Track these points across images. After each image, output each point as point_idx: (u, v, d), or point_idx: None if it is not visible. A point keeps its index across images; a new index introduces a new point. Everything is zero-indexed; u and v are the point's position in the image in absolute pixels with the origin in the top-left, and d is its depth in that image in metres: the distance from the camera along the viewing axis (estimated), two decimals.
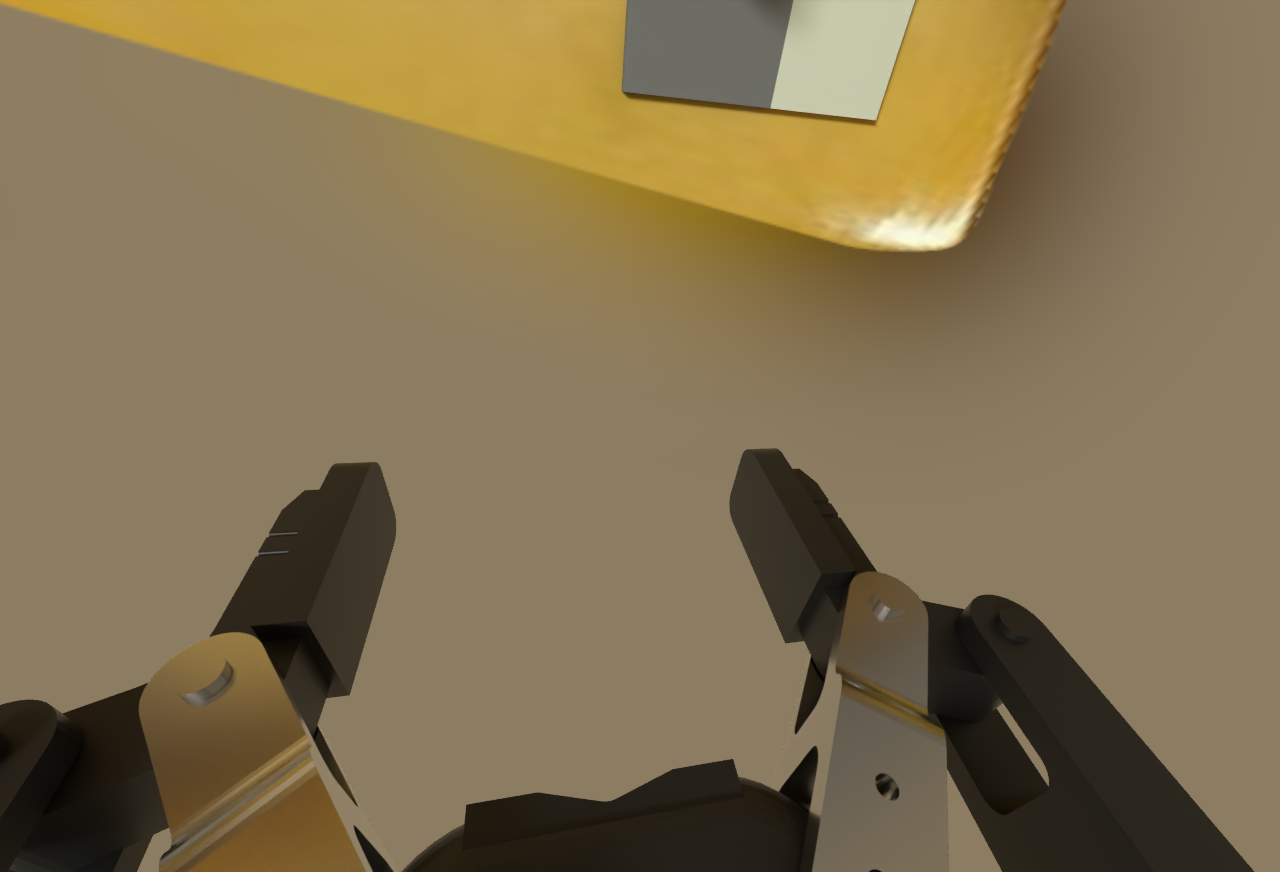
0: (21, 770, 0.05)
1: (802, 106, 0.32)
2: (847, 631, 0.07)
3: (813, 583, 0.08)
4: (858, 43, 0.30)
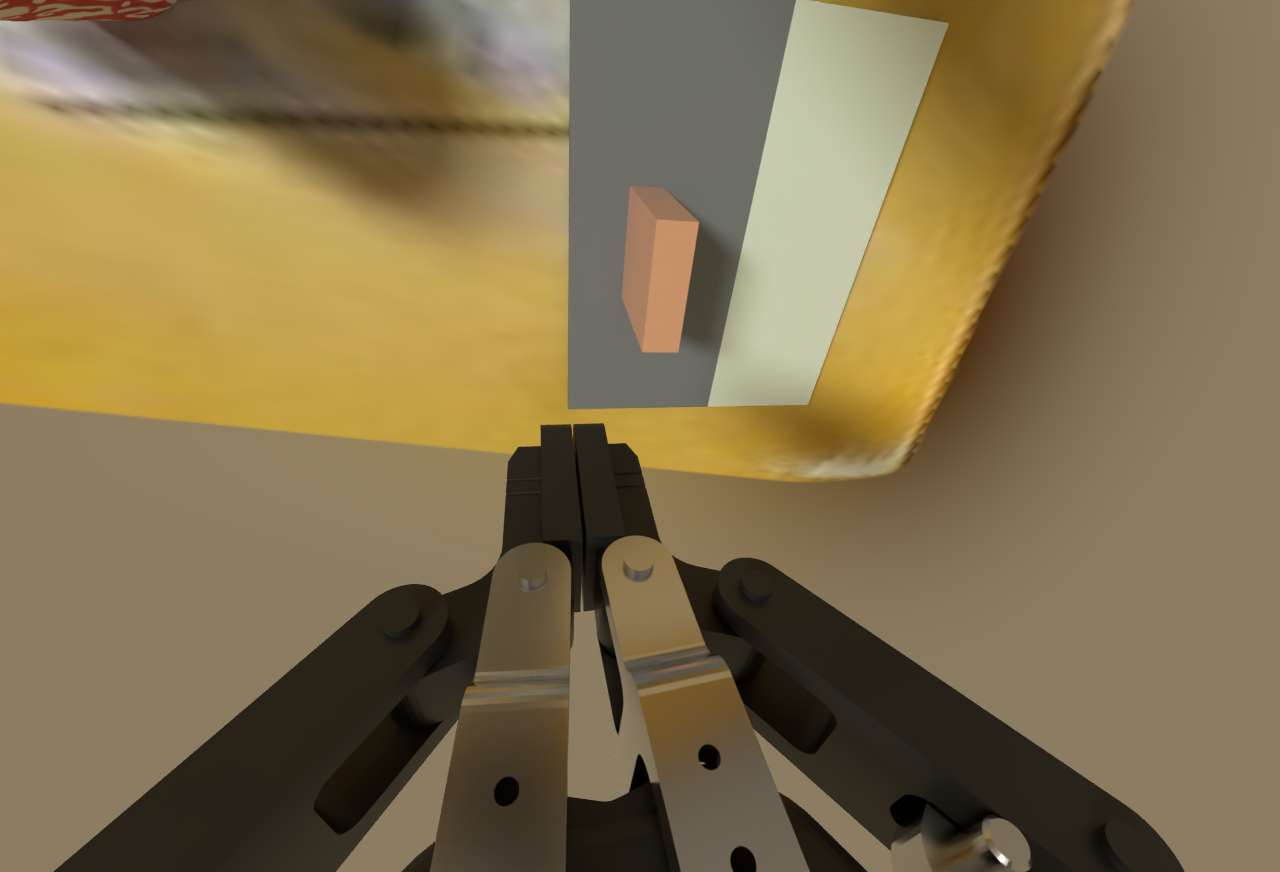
0: (437, 631, 0.07)
1: (737, 402, 0.35)
2: (618, 618, 0.07)
3: (586, 548, 0.08)
4: (786, 358, 0.33)
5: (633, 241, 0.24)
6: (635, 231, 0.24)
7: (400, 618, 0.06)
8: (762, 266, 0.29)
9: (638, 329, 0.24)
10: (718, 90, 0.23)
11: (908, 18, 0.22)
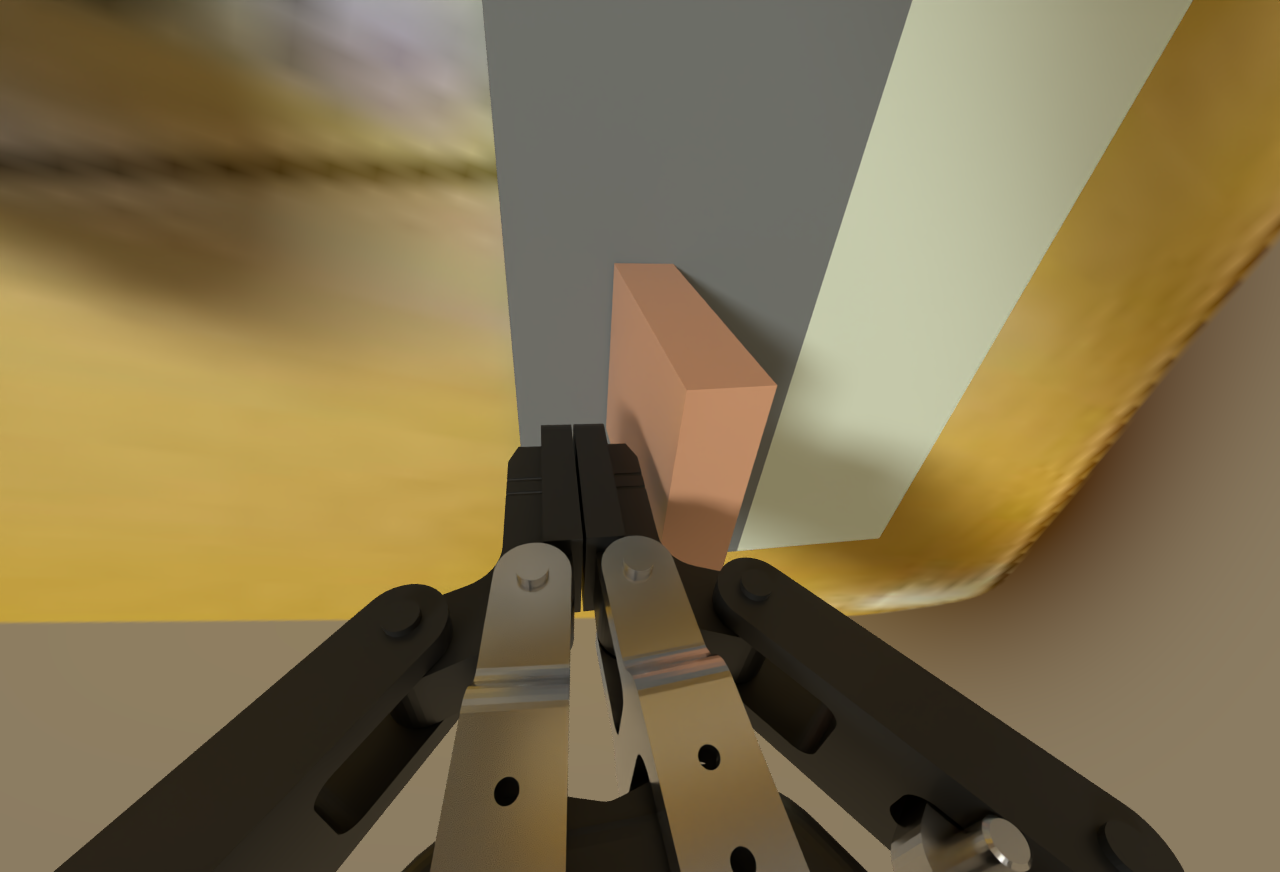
0: (437, 631, 0.07)
1: (780, 543, 0.24)
2: (618, 618, 0.07)
3: (585, 548, 0.08)
4: (855, 488, 0.22)
5: (625, 367, 0.13)
6: (629, 355, 0.13)
7: (401, 618, 0.06)
8: (832, 373, 0.18)
9: None
10: (776, 92, 0.12)
11: None
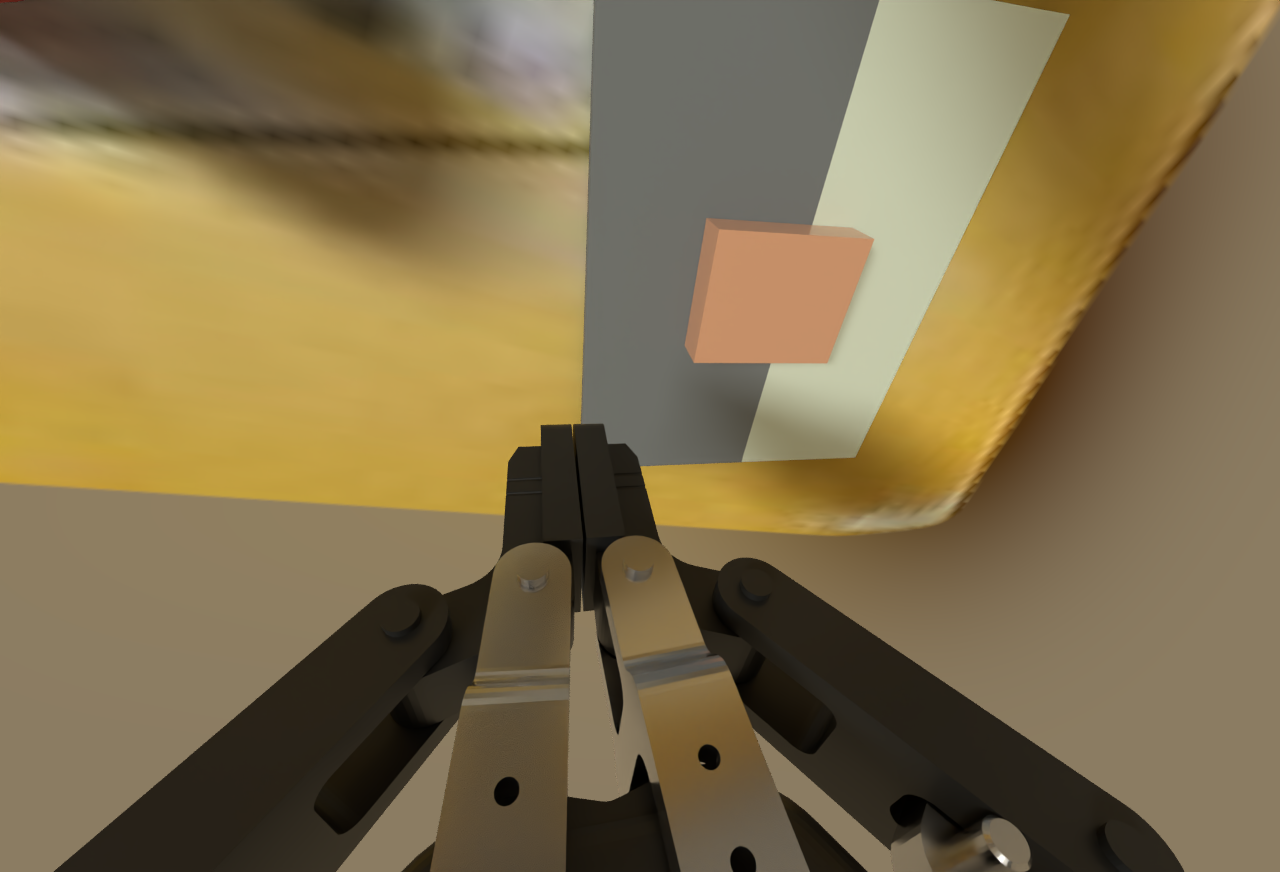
0: (437, 631, 0.07)
1: (775, 457, 0.30)
2: (618, 618, 0.07)
3: (585, 548, 0.08)
4: (835, 409, 0.28)
5: (760, 284, 0.21)
6: (770, 272, 0.20)
7: (400, 619, 0.06)
8: None
9: (806, 353, 0.23)
10: (778, 98, 0.18)
11: (1021, 8, 0.18)
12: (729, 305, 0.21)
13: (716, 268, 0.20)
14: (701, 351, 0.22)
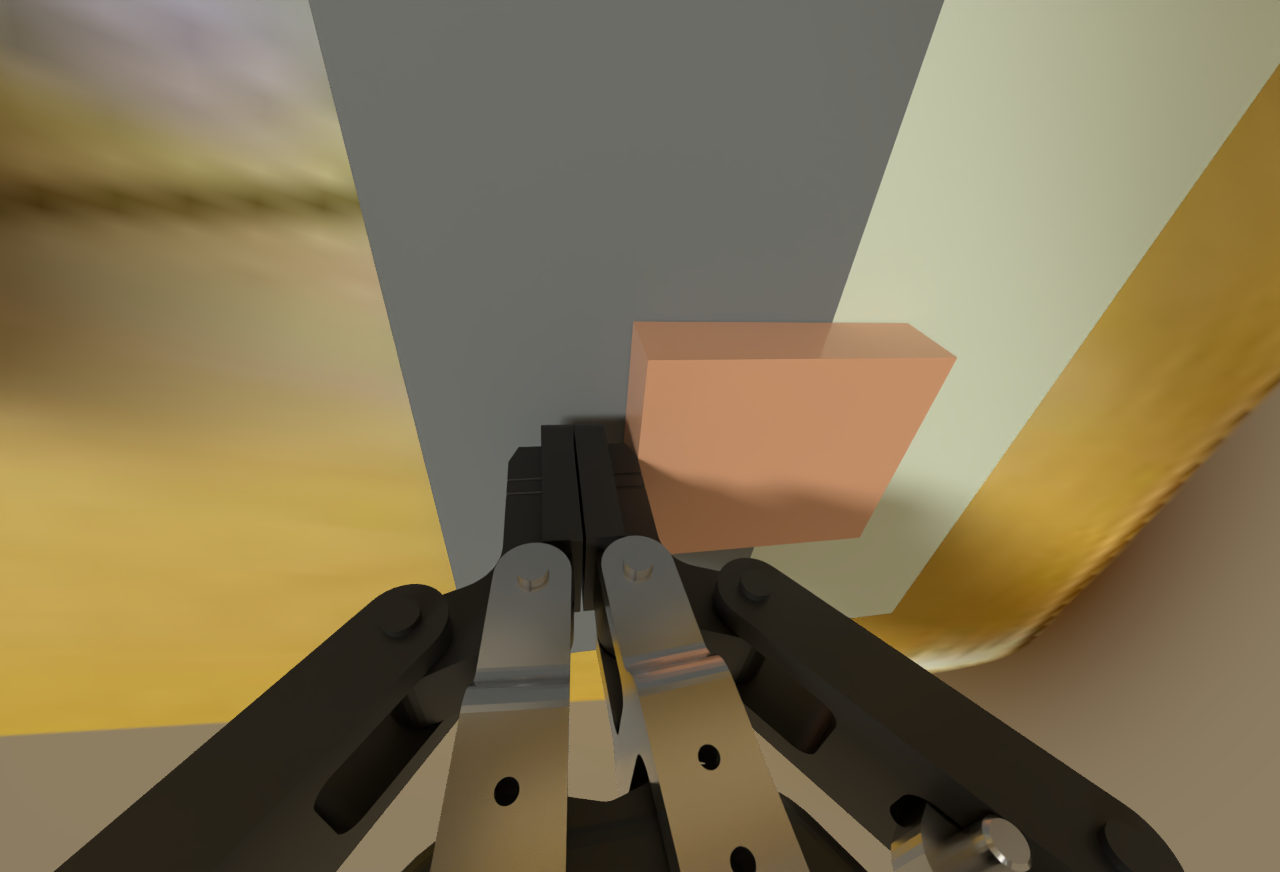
0: (437, 631, 0.07)
1: None
2: (618, 618, 0.07)
3: (585, 548, 0.08)
4: (865, 564, 0.19)
5: (738, 442, 0.11)
6: (757, 422, 0.11)
7: (401, 618, 0.06)
8: None
9: (824, 528, 0.14)
10: (762, 89, 0.08)
11: None
12: (682, 476, 0.11)
13: (650, 424, 0.10)
14: None
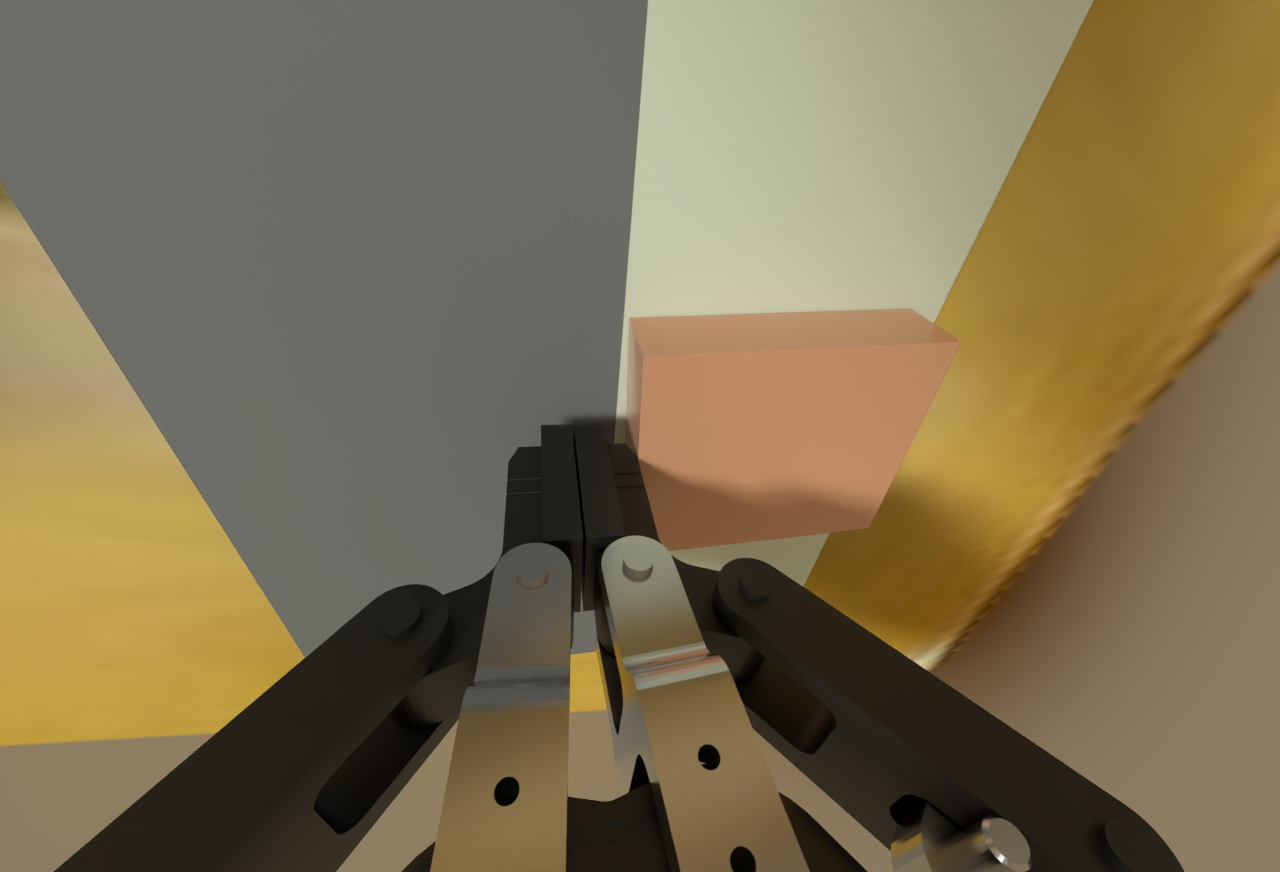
0: (437, 631, 0.07)
1: None
2: (618, 618, 0.07)
3: (585, 548, 0.08)
4: None
5: (739, 436, 0.11)
6: (758, 415, 0.11)
7: (401, 619, 0.06)
8: None
9: (832, 520, 0.13)
10: (459, 65, 0.08)
11: None
12: (684, 472, 0.11)
13: (649, 420, 0.10)
14: None
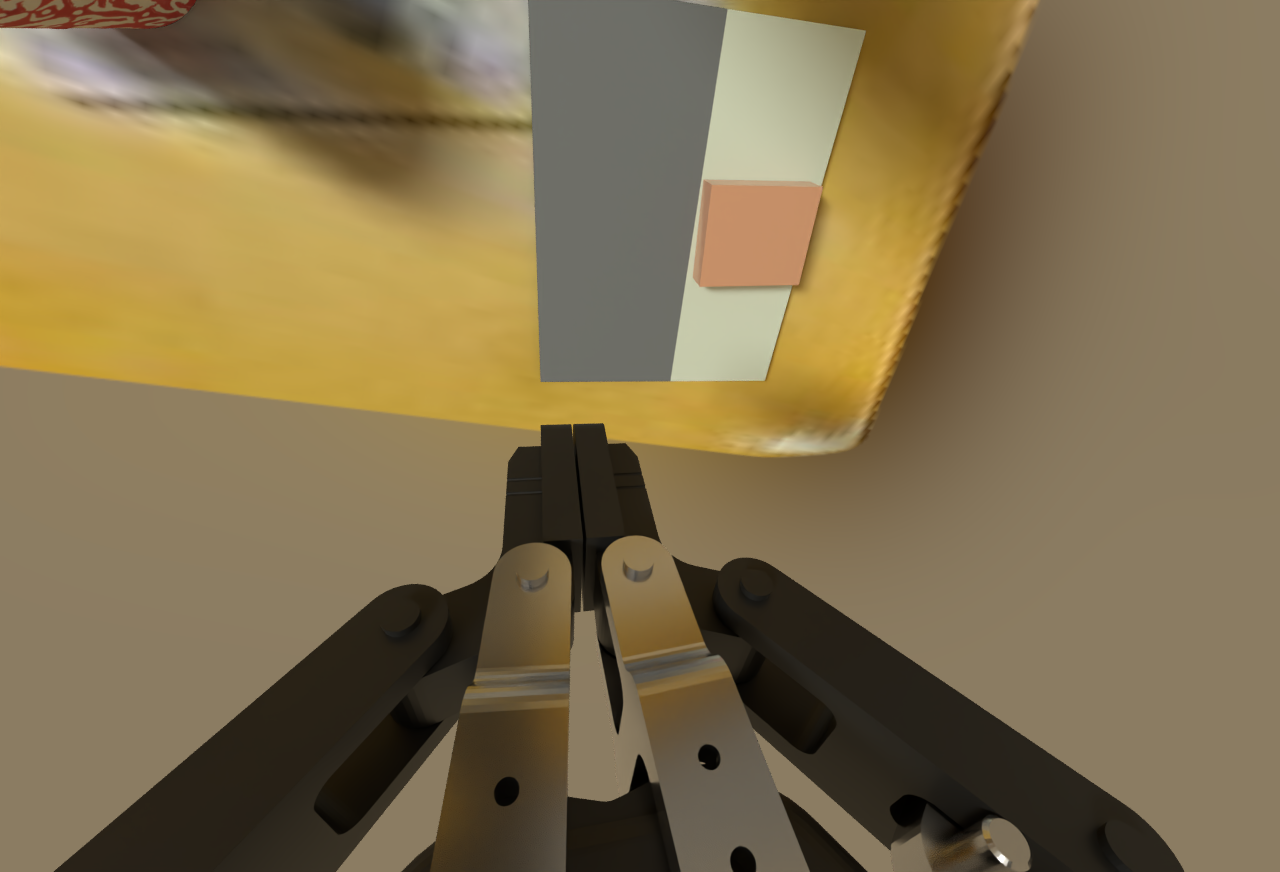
0: (437, 631, 0.07)
1: (698, 377, 0.38)
2: (618, 618, 0.07)
3: (586, 548, 0.08)
4: (741, 336, 0.36)
5: (743, 224, 0.29)
6: (750, 214, 0.29)
7: (400, 618, 0.06)
8: None
9: (782, 277, 0.32)
10: (663, 89, 0.26)
11: (829, 26, 0.26)
12: (722, 241, 0.30)
13: (711, 213, 0.29)
14: (704, 277, 0.31)
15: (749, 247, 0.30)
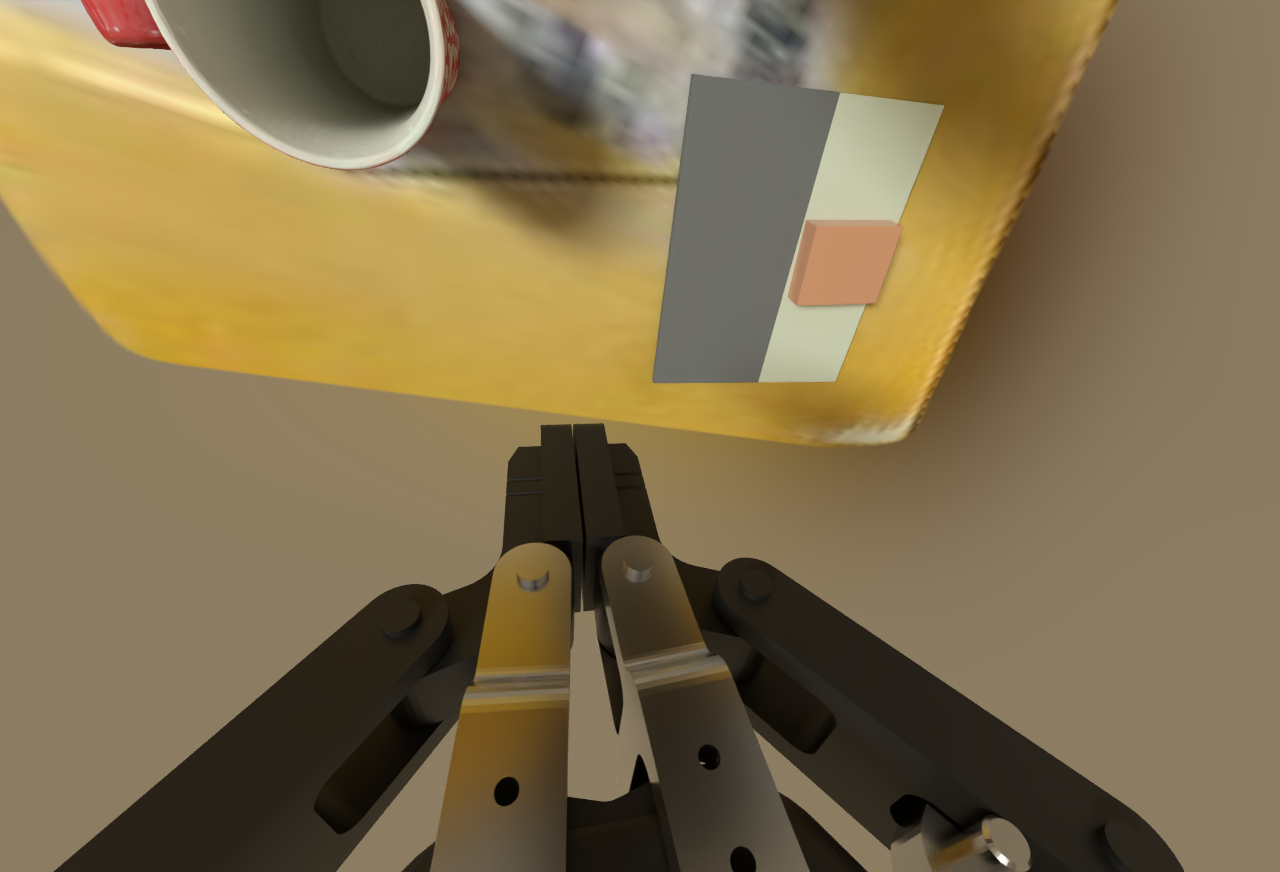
0: (437, 631, 0.07)
1: (781, 379, 0.45)
2: (618, 618, 0.07)
3: (585, 548, 0.08)
4: (820, 344, 0.43)
5: (837, 256, 0.36)
6: (844, 248, 0.36)
7: (401, 618, 0.06)
8: None
9: (863, 297, 0.39)
10: (783, 152, 0.33)
11: (916, 103, 0.32)
12: (819, 269, 0.36)
13: (813, 248, 0.35)
14: (801, 298, 0.38)
15: (840, 274, 0.37)
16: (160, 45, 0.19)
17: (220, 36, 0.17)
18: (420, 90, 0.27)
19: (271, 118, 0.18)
